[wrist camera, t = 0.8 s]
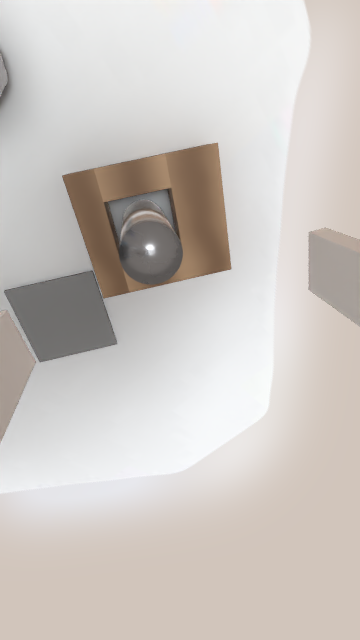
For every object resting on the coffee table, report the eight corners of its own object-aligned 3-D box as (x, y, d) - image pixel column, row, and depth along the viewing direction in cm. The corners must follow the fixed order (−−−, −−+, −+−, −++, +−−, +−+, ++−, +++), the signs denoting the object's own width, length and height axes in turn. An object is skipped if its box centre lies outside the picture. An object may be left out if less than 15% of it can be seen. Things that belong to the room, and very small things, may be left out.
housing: (106, 284, 36) (103, 298, 32) (69, 173, 30) (62, 175, 27) (221, 258, 36) (231, 269, 33) (207, 144, 31) (217, 142, 27)
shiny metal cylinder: (128, 247, 34) (128, 290, 23) (117, 204, 32) (110, 229, 21) (168, 238, 34) (187, 277, 23) (160, 195, 32) (176, 215, 21)
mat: (40, 360, 39) (40, 362, 39) (5, 290, 34) (3, 291, 34) (117, 342, 40) (116, 344, 39) (92, 270, 35) (92, 271, 35)
